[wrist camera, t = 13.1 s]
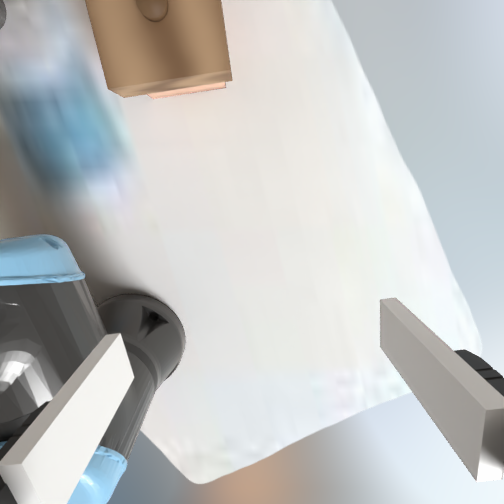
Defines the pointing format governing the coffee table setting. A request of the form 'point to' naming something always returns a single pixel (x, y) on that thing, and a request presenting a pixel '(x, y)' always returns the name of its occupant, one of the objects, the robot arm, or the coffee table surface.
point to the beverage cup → (2, 14)
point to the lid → (160, 44)
